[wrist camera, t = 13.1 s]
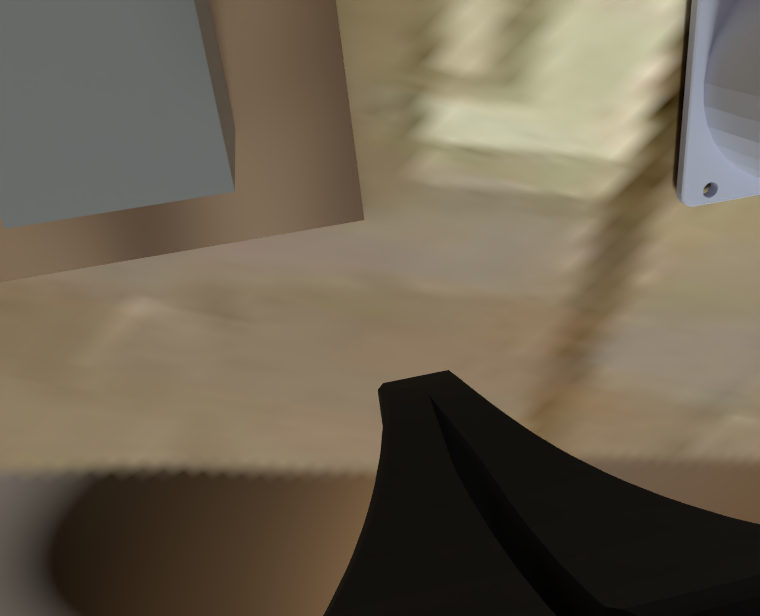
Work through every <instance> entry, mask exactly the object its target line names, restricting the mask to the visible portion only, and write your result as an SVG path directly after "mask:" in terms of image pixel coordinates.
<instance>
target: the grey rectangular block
mask: <svg viewBox="0 0 760 616" xmlns="http://www.w3.org/2000/svg"><path fill="white" fill-rule="evenodd" d="M235 142H236V130H235V125H234V120H233V116H232V111H231V106H230V101H229V96H228V91H227V86H226V82H225V77H224V72H223V67H222V62H221V57H220V52H219V47H218V43H217V38H216V33H215V28H214V23H213V18H212V13H211V8H210V4H209V0H0V218H1V220H2V223H3V226H4V228H5V229H7V228H13V227H20V226H26V225H32V224H38V223H44V222H51V221H57V220H63V219H69V218H75V217H81V216H88V215H94V214H100V213H106V212H112V211H118V210H125V209H131V208H137V207H143V206H149V205H155V204H162V203H168V202H174V201H180V200H186V199H193V198H199V197H205V196H211V195H217V194H223V193H230V192H235Z"/></svg>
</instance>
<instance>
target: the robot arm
mask: <svg viewBox="0 0 760 616" xmlns="http://www.w3.org/2000/svg"><path fill="white" fill-rule="evenodd" d="M708 183H711V186H710V189H709V190H708V192H707V193H705V194H703V190H704V187H705V186H706V185H707V184H708ZM676 193H677V198H678V200H679V201H680V202H682V203H684V204H685V205H687V206H700V205H705V204H711V203H716V202H722V201H728V200H733V199H739V198H745V197H750V196H756V195H760V0H692V5H691V17H690V29H689V42H688V54H687V66H686V79H685V91H684V103H683V116H682V128H681V140H680V153H679V165H678V178H677V190H676ZM378 395H379V402H380V410H381V417H382V424H383V431H382V442H381V453H380V459H379V465H378V470H377V475H376V481H375V486H374V490H373V494H372V498H371V502H370V506H369V509H368V513H367V516H366V519H365V522H364V525H363V528H362V531H361V534H360V537H359V539H358V542H357V545H356V548H355V550H354V553H353V555H352V558H351V560H350V563H349V565H348V567H347V569H346V572H345V574H344V576H343V578H342V580H341V582H340V584H339V586H338V588H337V590H336V592H335V594H334V596H333V598H332V600H331V602H330V604H329V606H328V608H327V610H326V612H325V614H324V615H323V616H760V524H756V523H751V522H747V521H743V520H739V519H735V518H730V517H727V516H723V515H720V514H717V513H713V512H710V511H707V510H704V509H700V508H697V507H694V506H690V505H687V504H684V503H681V502H679V501H675V500H673V499H670V498H667V497H664V496H661V495H659V494H656V493H653V492H651V491H648V490H646V489H643V488H641V487H638V486H636V485H633V484H631V483H628V482H626V481H623V480H621V479H619V478H617V477H614V476H612V475H610V474H608V473H605V472H603V471H601V470H599V469H597V468H595V467H593V466H591V465H589V464H587V463H585V462H583V461H581V460H579V459H577V458H575V457H573V456H571V455H570V454H568V453H566V452H564V451H562V450H561V449H559V448H557V447H555V446H554V445H552V444H550V443H549V442H547V441H546V440H544V439H542V438H541V437H539V436H537V435H536V434H534V433H533V432H531V431H529V430H528V429H526V428H525V427H524V426H522V425H521V424H519V423H518V422H516V421H515V420H514V419H512V418H511V417H509V416H508V415H506V414H505V413H504V412H502V411H501V410H499V409H498V408H497V407H495V406H494V405H493V404H491V403H490V402H489V401H488V400H486V399H485V398H484V397H482V396H481V395H480V394H478V393H477V392H476V391H475V390H473V389H472V388H471V387H470V386H468V385H467V384H466V383H465V382H463V381H462V380H461V379H460V378H458V377H457V376H456V375H454V374H453V373H452V372H450V371H449V370H447V371H442V372H437V373H432V374H427V375H422V376H417V377H412V378H407V379H402V380H397V381H392V382H387V383H383V384H382V385H381V387H380V388H379V389H378Z"/></svg>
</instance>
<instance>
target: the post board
mask: <svg viewBox="0 0 760 616" xmlns="http://www.w3.org/2000/svg"><path fill="white" fill-rule="evenodd" d="M209 4H210V8H211V13H212V18H213V23H214V28H215V33H216V38H217V43H218V47H219V52H220V57H221V62H222V67H223V72H224V77H225V82H226V86H227V91H228V96H229V101H230V106H231V111H232V116H233V120H234V125H235V130H236V142H235V192H230V193H223V194H217V195H211V196H205V197H199V198H193V199H186V200H180V201H174V202H168V203H162V204H155V205H149V206H143V207H137V208H131V209H125V210H118V211H112V212H106V213H100V214H94V215H88V216H81V217H75V218H69V219H63V220H57V221H51V222H44V223H38V224H32V225H26V226H20V227H13V228H7V229H5V228H4V226H3V223H2V220H1V218H0V282H4V281H10V280H16V279H22V278H27V277H33V276H39V275H45V274H51V273H57V272H62V271H68V270H74V269H80V268H86V267H92V266H98V265H103V264H109V263H115V262H121V261H127V260H133V259H138V258H144V257H150V256H156V255H162V254H168V253H174V252H179V251H185V250H191V249H197V248H203V247H209V246H215V245H220V244H226V243H232V242H238V241H244V240H250V239H255V238H261V237H267V236H273V235H279V234H285V233H291V232H296V231H302V230H308V229H314V228H320V227H326V226H331V225H337V224H343V223H349V222H355V221H361V220H364V215H363V207H362V200H361V192H360V184H359V177H358V169H357V161H356V154H355V146H354V139H353V131H352V123H351V116H350V108H349V100H348V93H347V85H346V78H345V70H344V62H343V55H342V47H341V39H340V32H339V24H338V16H337V9H336V1H335V0H209Z"/></svg>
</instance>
